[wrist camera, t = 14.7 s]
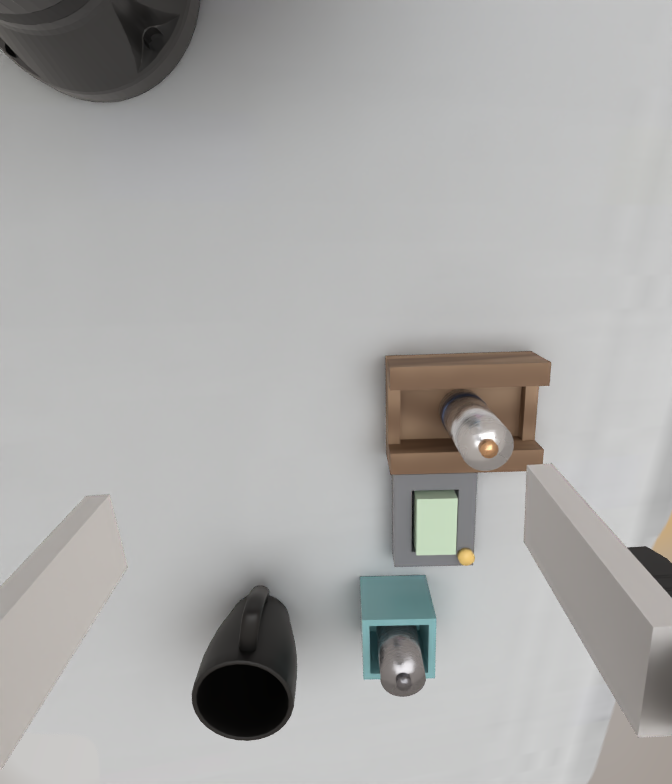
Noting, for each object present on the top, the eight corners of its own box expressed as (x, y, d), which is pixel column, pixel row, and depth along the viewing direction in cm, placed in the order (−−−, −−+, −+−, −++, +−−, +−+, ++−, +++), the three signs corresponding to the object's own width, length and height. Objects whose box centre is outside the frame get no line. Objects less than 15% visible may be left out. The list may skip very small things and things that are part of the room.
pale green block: (414, 489, 44) (417, 499, 42) (453, 488, 44) (457, 498, 42) (413, 543, 45) (416, 555, 44) (451, 542, 45) (455, 554, 44)
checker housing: (392, 465, 45) (394, 478, 42) (471, 463, 44) (479, 476, 42) (392, 553, 47) (395, 571, 45) (467, 552, 47) (474, 569, 44)
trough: (385, 355, 42) (389, 367, 38) (531, 351, 42) (551, 362, 38) (386, 453, 44) (390, 474, 40) (523, 450, 44) (542, 470, 40)
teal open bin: (359, 576, 48) (362, 620, 42) (425, 575, 48) (436, 618, 42) (361, 630, 50) (363, 679, 44) (424, 629, 49) (434, 678, 44)
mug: (314, 554, 47) (307, 628, 38) (296, 657, 51) (286, 747, 41) (227, 541, 47) (199, 613, 38) (215, 645, 50) (187, 734, 41)
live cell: (437, 431, 42) (461, 476, 34) (438, 389, 41) (462, 425, 33) (482, 429, 42) (516, 474, 34) (483, 387, 41) (518, 422, 33)
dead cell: (374, 593, 47) (380, 666, 39) (412, 592, 47) (427, 665, 39) (374, 625, 48) (381, 703, 40) (412, 624, 48) (426, 702, 40)
